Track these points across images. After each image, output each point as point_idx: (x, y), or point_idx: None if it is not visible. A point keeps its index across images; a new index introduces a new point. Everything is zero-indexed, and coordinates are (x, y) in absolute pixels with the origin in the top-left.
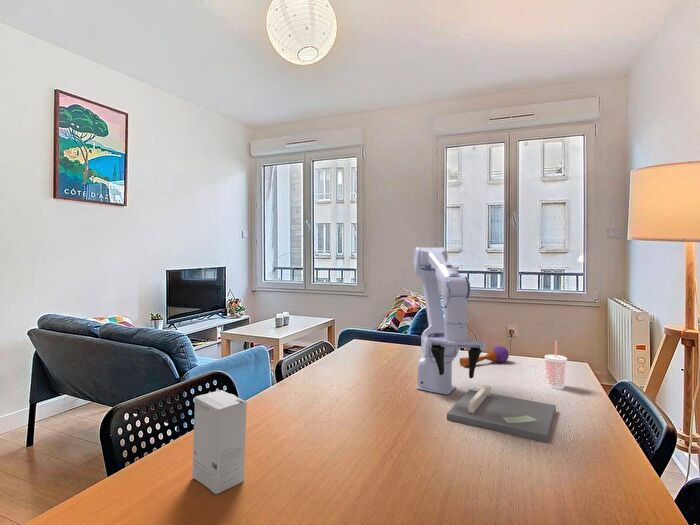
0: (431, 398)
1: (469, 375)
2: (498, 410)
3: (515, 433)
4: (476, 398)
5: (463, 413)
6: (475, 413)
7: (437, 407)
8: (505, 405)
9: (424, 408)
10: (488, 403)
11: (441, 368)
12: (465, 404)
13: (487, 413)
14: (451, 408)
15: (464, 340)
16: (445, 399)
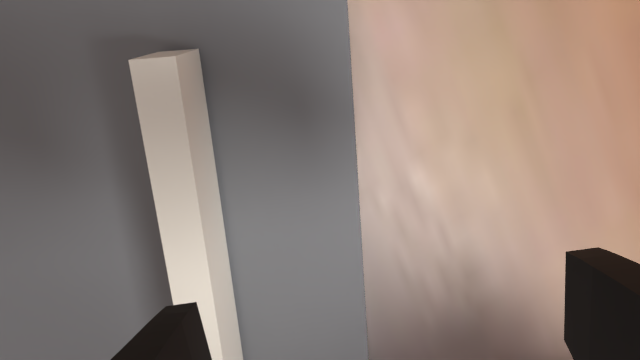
0: None
1: (180, 315)
2: (50, 233)
3: None
4: (164, 200)
5: (228, 13)
6: None
7: (491, 121)
8: (57, 346)
9: (577, 39)
10: None
11: (619, 299)
12: (290, 206)
13: (83, 129)
14: (350, 57)
15: None
16: (490, 299)
